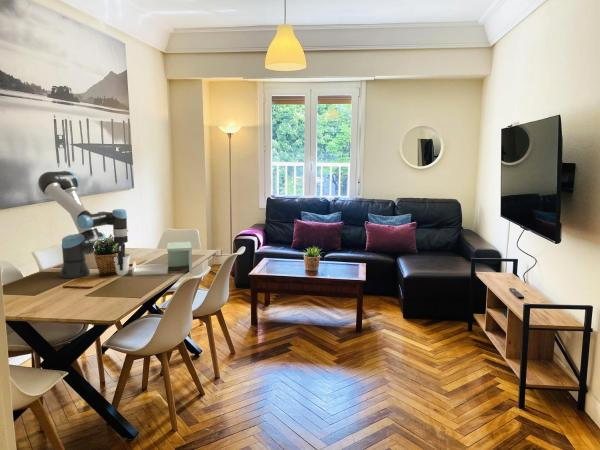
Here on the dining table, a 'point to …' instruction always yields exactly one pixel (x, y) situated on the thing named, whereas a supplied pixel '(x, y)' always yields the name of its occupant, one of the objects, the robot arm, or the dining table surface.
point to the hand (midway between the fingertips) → (122, 273)
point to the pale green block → (180, 254)
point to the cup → (125, 262)
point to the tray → (149, 269)
